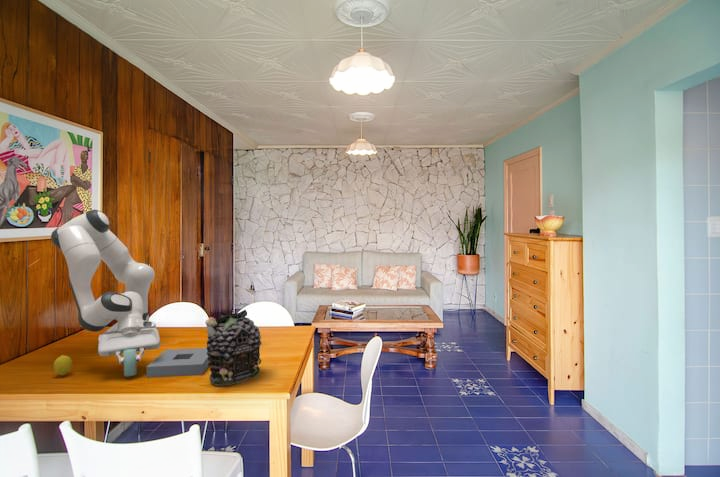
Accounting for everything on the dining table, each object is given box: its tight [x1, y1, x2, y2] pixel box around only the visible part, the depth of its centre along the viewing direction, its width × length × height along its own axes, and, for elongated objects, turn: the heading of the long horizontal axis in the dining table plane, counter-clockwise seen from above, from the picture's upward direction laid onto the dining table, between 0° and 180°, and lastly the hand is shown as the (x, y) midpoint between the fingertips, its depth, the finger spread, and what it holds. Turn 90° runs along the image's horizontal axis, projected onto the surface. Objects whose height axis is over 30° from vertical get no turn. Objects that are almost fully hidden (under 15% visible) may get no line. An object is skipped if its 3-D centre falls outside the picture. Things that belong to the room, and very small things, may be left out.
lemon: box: [53, 354, 73, 377], centre depth 144 cm, size 6×6×8 cm
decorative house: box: [205, 309, 263, 386], centre depth 142 cm, size 21×15×25 cm
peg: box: [123, 349, 138, 377], centre depth 142 cm, size 4×4×9 cm
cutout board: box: [146, 347, 210, 378], centre depth 154 cm, size 20×20×4 cm
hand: (130, 361), depth 141 cm, fingers closed on peg, 4 cm apart
